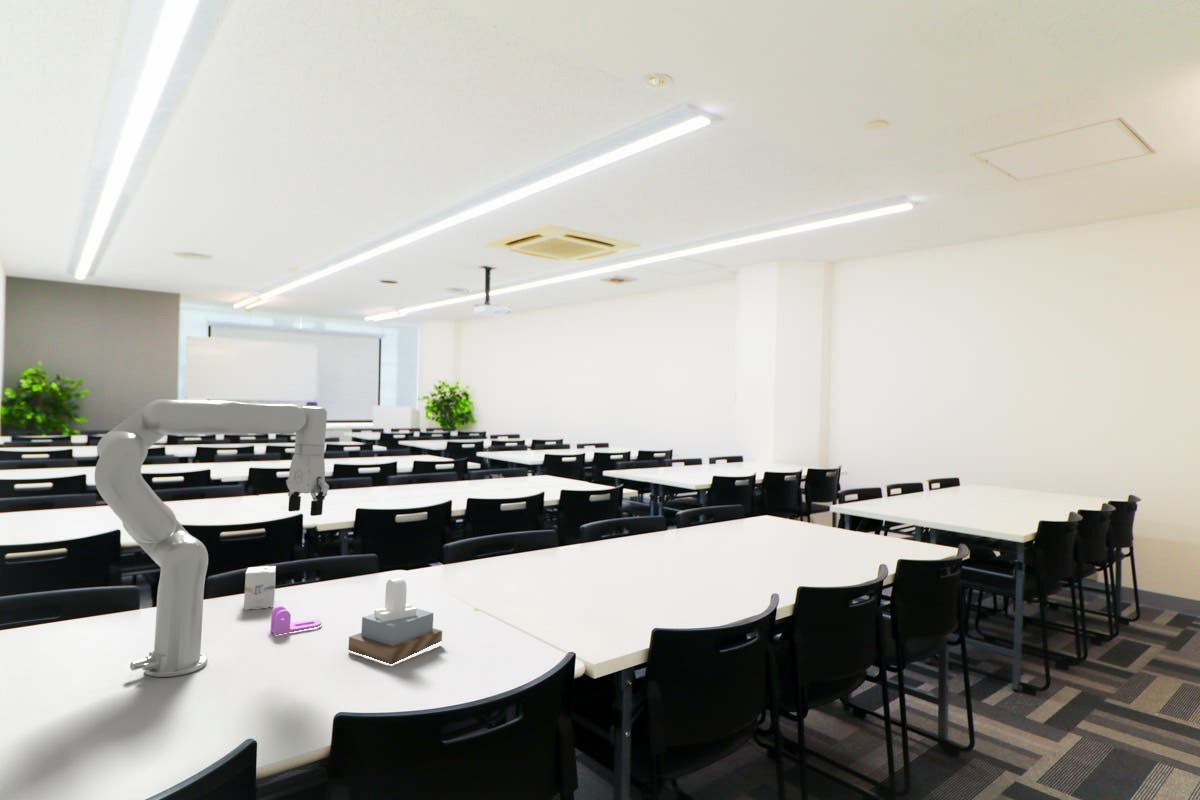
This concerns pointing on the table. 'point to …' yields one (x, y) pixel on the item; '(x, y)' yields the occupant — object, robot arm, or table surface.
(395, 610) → the white t-shaped block
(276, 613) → the bracket
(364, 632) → the top block
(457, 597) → the table surface
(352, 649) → the bottom block
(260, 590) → the ink box
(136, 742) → the table surface
